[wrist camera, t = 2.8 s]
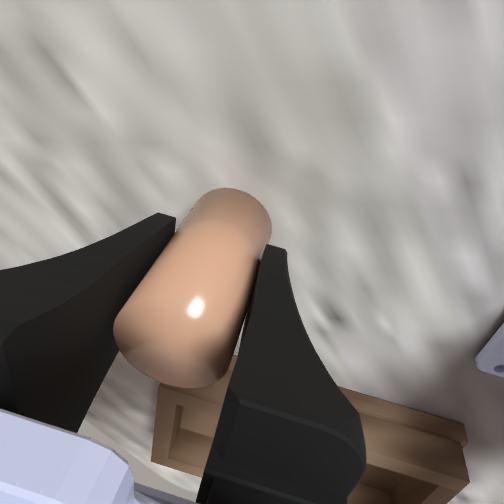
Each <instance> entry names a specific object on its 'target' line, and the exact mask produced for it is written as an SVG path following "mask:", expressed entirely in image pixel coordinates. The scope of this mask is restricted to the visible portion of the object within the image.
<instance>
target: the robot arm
mask: <svg viewBox="0 0 504 504" xmlns="http://www.w3.org/2000/svg"><path fill="white" fill-rule="evenodd" d="M175 223H176V218H175V217H172V216H168V215H165V214H161V213H156V214H154V215H152V216H150V217H148V218H146V219H144V220H142V221H140V222H138V223H136V224H134V225H132V226H130V227H128V228H126V229H124V230H122V231H120V232H118V233H116V234H114V235H112V236H110V237H107V238H105V239H103V240H100V241H98V242H96V243H93V244H91V245H89V246H86V247H84V248H81V249H78V250H76V251H73V252H70V253H67V254H64V255H61V256H57V257H54V258H51V259H47V260H43V261H39V262H35V263H31V264H27V265H23V266H19V267H14V268H9V269H4V270H0V504H347V497H348V496H349V495H350V493H351V492H352V491H353V489H354V488H355V487H356V485H357V484H358V483H359V481H360V480H361V479H362V477H363V475H364V473H365V471H366V461H367V457H366V445H365V439H364V433H363V428H362V423H361V418H360V414H359V413H358V411H357V410H356V409H355V408H354V406H353V405H352V404H351V403H350V401H349V400H348V399H347V398H346V396H345V395H344V394H343V393H342V391H341V390H340V389H339V388H338V386H337V385H336V383H335V382H334V381H333V379H332V378H331V376H330V375H329V373H328V371H327V370H326V368H325V366H324V365H323V363H322V361H321V359H320V358H319V356H318V354H317V353H316V351H315V349H314V347H313V345H312V343H311V341H310V339H309V337H308V334H307V332H306V330H305V328H304V325H303V323H302V320H301V317H300V315H299V312H298V309H297V306H296V303H295V299H294V296H293V291H292V287H291V283H290V278H289V272H288V265H287V252H286V250H285V249H282V248H279V247H276V246H272V245H269V244H266V246H265V249H264V252H263V254H262V258H261V262H260V265H259V269H258V273H257V277H256V280H255V285H254V289H253V294H252V297H251V300H250V304H249V307H248V310H247V314H246V317H245V322H244V327H243V332H242V337H241V342H240V348H239V353H238V357H237V360H236V363H235V366H234V369H233V372H232V375H231V378H230V381H229V384H228V387H227V391H226V395H225V398H224V402H223V406H222V409H221V413H220V417H219V420H218V424H217V428H216V431H215V435H214V439H213V442H212V446H211V449H210V452H209V456H208V459H207V462H206V465H205V469H204V472H203V477H202V480H201V484H200V488H199V491H198V495H197V499H196V502H193V501H190V500H187V499H184V498H181V497H177V496H175V495H172V494H168V493H165V492H162V491H159V490H156V489H153V488H150V487H147V486H144V485H141V484H138V483H135V482H134V478H133V475H132V472H131V470H130V467H129V465H128V462H127V461H126V460H125V459H124V458H123V457H121V455H119V454H118V453H117V452H116V451H115V450H114V449H112V448H111V447H109V446H107V445H105V444H102V443H100V442H98V441H96V440H94V439H92V438H90V437H87V436H83V435H80V434H77V432H78V430H79V428H80V426H81V424H82V421H83V419H84V417H85V415H86V413H87V411H88V409H89V407H90V405H91V403H92V401H93V399H94V397H95V395H96V393H97V391H98V389H99V387H100V385H101V383H102V381H103V379H104V378H105V376H106V374H107V372H108V370H109V368H110V366H111V364H112V363H113V361H114V359H115V357H116V355H117V353H118V352H119V348H118V346H117V344H116V341H115V338H114V332H113V327H114V322H115V319H116V317H117V315H118V314H119V312H120V311H121V309H122V308H123V306H124V305H125V304H126V302H127V301H128V299H129V298H130V297H131V295H132V294H133V292H134V291H135V289H136V288H137V287H138V285H139V284H140V282H141V281H142V279H143V278H144V277H145V275H146V274H147V272H148V271H149V269H150V268H151V267H152V265H153V264H154V262H155V261H156V259H157V258H158V257H159V255H160V254H161V252H162V251H163V250H164V248H165V247H166V245H167V244H168V242H169V241H170V240H171V238H172V237H173V235H174V233H175ZM475 361H476V365H477V368H478V369H479V370H481V371H483V372H486V373H490V374H493V375H496V376H500V377H503V378H504V323H503V324H502V325H501V327H500V328H499V329H498V330H497V332H496V333H495V334H494V335H493V337H492V338H491V339H490V340H489V342H488V343H487V344H486V345H485V347H484V348H483V349H482V350H481V351H480V353H479V354H478V355H477V356H476V359H475ZM497 365H501V366H497Z"/></svg>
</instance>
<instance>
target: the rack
mask: <svg viewBox="0 0 504 504" xmlns="http://www.w3.org/2000/svg"><path fill="white" fill-rule="evenodd" d="M237 357H238V356H235V355H233V356H232V359H231V363H230V366H229V368H228V371H227V372H226V374H225V375H224V376H223V377H222V378H221V379H220V380H219V381H217V382H215V383H214V384H211V385H208V386H205V387H200V388H181V387H175V386H171V385H167V384H164V383H160V385H159V391H158V400H157V410H156V419H155V428H154V437H153V446H152V456H151V462H154V463H157V464H160V465H163V466H167V467H170V468H173V469H176V470H179V471H182V472H185V473H189V474H192V475H195V476H198V477H201V478H202V477H203V472H204V469H205V465H206V462H207V459H208V456H209V452H210V449H211V446H212V442H213V439H214V435H215V431H216V428H217V424H218V420H219V417H220V413H221V409H222V406H223V402H224V398H225V395H226V391H227V387H228V384H229V381H230V378H231V375H232V372H233V369H234V366H235V363H236V360H237ZM338 388H339V389H340V390H341V391H342V393H343V394H344V395H345V396H346V398H347V399H348V400H349V401H350V403H351V404H352V405H353V406H354V408H355V409H356V410H357V411H358V413H359V414H360V418H361V423H362V428H363V433H364V439H365V445H366V457H367V461H366V471H365V473H364V475H363V477H362V479H361V480H360V481H359V483H358V484H357V485H356V487H355V488H354V489H353V491H352V492H351V493H350V495H349V496H348V497H347V504H447V503H448V502H449V501H450V500H451V499H452V498H453V497H454V496H456V495H457V494H458V493H459V492H460V491H461V490H462V489H463V488H464V487H465V486H467V485H468V484H469V483H470V480H469V476H468V471H467V467H466V463H465V459H464V454H463V450H462V448H463V447H464V446H465V445H466V444H467V443H468V439H467V435H466V431H465V427H464V424H461V423H457V422H454V421H451V420H447V419H444V418H441V417H437V416H434V415H431V414H427V413H424V412H421V411H418V410H414V409H411V408H408V407H404V406H401V405H398V404H394V403H391V402H388V401H384V400H381V399H378V398H374V397H371V396H368V395H364V394H361V393H358V392H354V391H351V390H348V389H344V388H341V387H338Z"/></svg>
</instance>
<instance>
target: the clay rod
mask: <svg viewBox="0 0 504 504" xmlns="http://www.w3.org/2000/svg"><path fill="white" fill-rule="evenodd" d="M271 234H272V225H271V220H270V217H269V215H268V213H267V211H266V209H265V208H264V207H263V205H262V204H261V203H260V202H259V201H258V200H257V199H255V198H254V197H253V196H251V195H250V194H248V193H246V192H243V191H240V190H237V189H232V188H220V189H215V190H212V191H210V192H208V193H206V194H204V195H203V196H202V197H201V198H200V199H199V200H198V201H197V203H196V204H195V205H194V207H193V208H192V210H191V211H190V213H189V214H188V215H187V217H186V218H185V220H184V221H183V222H182V224H181V225H180V227H179V228H178V230H177V231H176V232H175V234H174V235H173V237H172V238H171V240H170V241H169V242H168V244H167V245H166V247H165V248H164V250H163V251H162V252H161V254H160V255H159V257H158V258H157V259H156V261H155V262H154V264H153V265H152V267H151V268H150V269H149V271H148V272H147V274H146V275H145V277H144V278H143V279H142V281H141V282H140V284H139V285H138V287H137V288H136V289H135V291H134V292H133V294H132V295H131V297H130V298H129V299H128V301H127V302H126V304H125V305H124V306H123V308H122V309H121V311H120V312H119V314H118V315H117V317H116V319H115V322H114V327H113V332H114V338H115V341H116V344H117V346H118V348H119V350H120V352H121V353H122V354H123V356H124V357H125V358H126V359H127V360H128V361H129V362H130V363H131V364H132V365H133V366H134V367H135V368H136V369H138V370H139V371H140V372H142V373H143V374H145V375H147V376H148V377H150V378H152V379H154V380H156V381H159V382H161V383H164V384H167V385H171V386H175V387H181V388H200V387H205V386H208V385H211V384H214V383H215V382H217V381H219V380H220V379H221V378H222V377H223V376H224V375H225V374H226V372H227V371H228V368H229V366H230V363H231V359H232V356H233V353H234V350H235V347H236V344H237V341H238V338H239V335H240V331H241V328H242V325H243V322H244V319H245V316H246V313H247V310H248V307H249V304H250V300H251V297H252V294H253V289H254V285H255V280H256V277H257V273H258V269H259V265H260V262H261V258H262V254H263V252H264V249H265V246H266V244H269V242H270V238H271Z"/></svg>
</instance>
